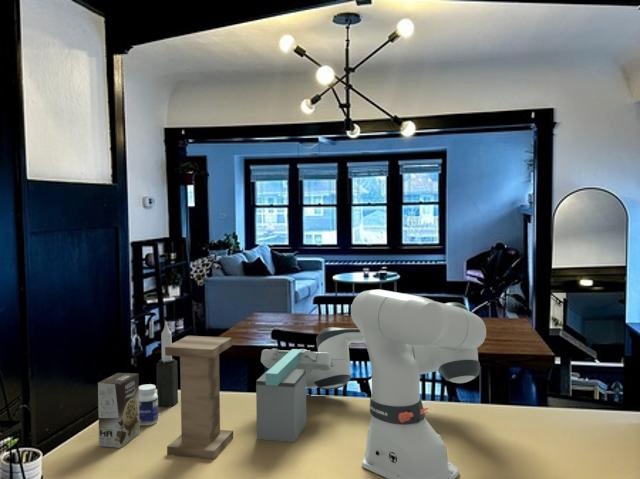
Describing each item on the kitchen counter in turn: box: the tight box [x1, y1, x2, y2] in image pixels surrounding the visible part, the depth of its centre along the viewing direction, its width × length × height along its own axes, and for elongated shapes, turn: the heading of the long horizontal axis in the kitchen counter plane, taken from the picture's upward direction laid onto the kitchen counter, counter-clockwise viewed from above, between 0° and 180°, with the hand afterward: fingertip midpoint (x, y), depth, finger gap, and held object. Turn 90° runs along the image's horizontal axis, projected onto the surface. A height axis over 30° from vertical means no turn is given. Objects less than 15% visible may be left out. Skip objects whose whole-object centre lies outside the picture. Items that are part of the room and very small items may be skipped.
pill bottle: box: [139, 383, 159, 427], centre depth 150 cm, size 6×6×10 cm
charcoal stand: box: [255, 368, 307, 443], centre depth 143 cm, size 12×10×15 cm
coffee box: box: [97, 372, 141, 449], centre depth 138 cm, size 9×6×16 cm
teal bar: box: [264, 348, 302, 386], centre depth 146 cm, size 24×3×3 cm, turn 167°
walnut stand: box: [165, 335, 234, 460], centre depth 134 cm, size 12×12×26 cm
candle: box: [156, 321, 179, 408], centre depth 164 cm, size 5×5×25 cm
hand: (290, 352), depth 151 cm, fingers open, 8 cm apart
